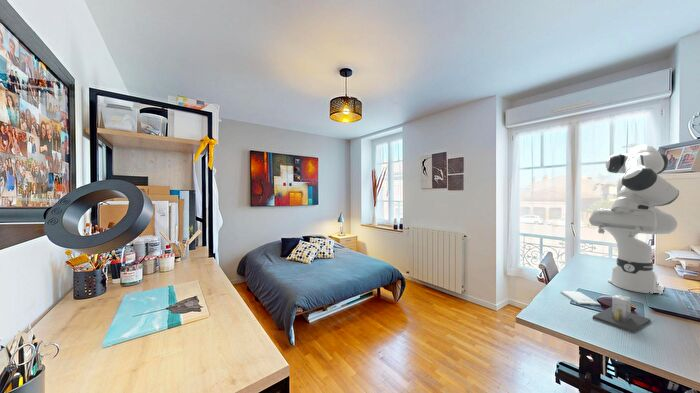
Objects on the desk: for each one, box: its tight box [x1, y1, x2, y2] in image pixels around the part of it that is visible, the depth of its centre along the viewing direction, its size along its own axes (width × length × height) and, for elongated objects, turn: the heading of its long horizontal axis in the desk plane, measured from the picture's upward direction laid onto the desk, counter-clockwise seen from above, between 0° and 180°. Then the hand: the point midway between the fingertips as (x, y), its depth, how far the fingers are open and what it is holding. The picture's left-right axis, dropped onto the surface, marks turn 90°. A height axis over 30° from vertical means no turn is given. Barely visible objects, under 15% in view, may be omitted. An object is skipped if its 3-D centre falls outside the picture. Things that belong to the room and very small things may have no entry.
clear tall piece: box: [611, 294, 632, 321], centre depth 96 cm, size 5×4×8 cm
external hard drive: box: [560, 290, 601, 306], centre depth 115 cm, size 2×8×12 cm
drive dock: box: [592, 306, 652, 334], centre depth 96 cm, size 16×11×4 cm
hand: (615, 234), depth 107 cm, fingers open, 8 cm apart
